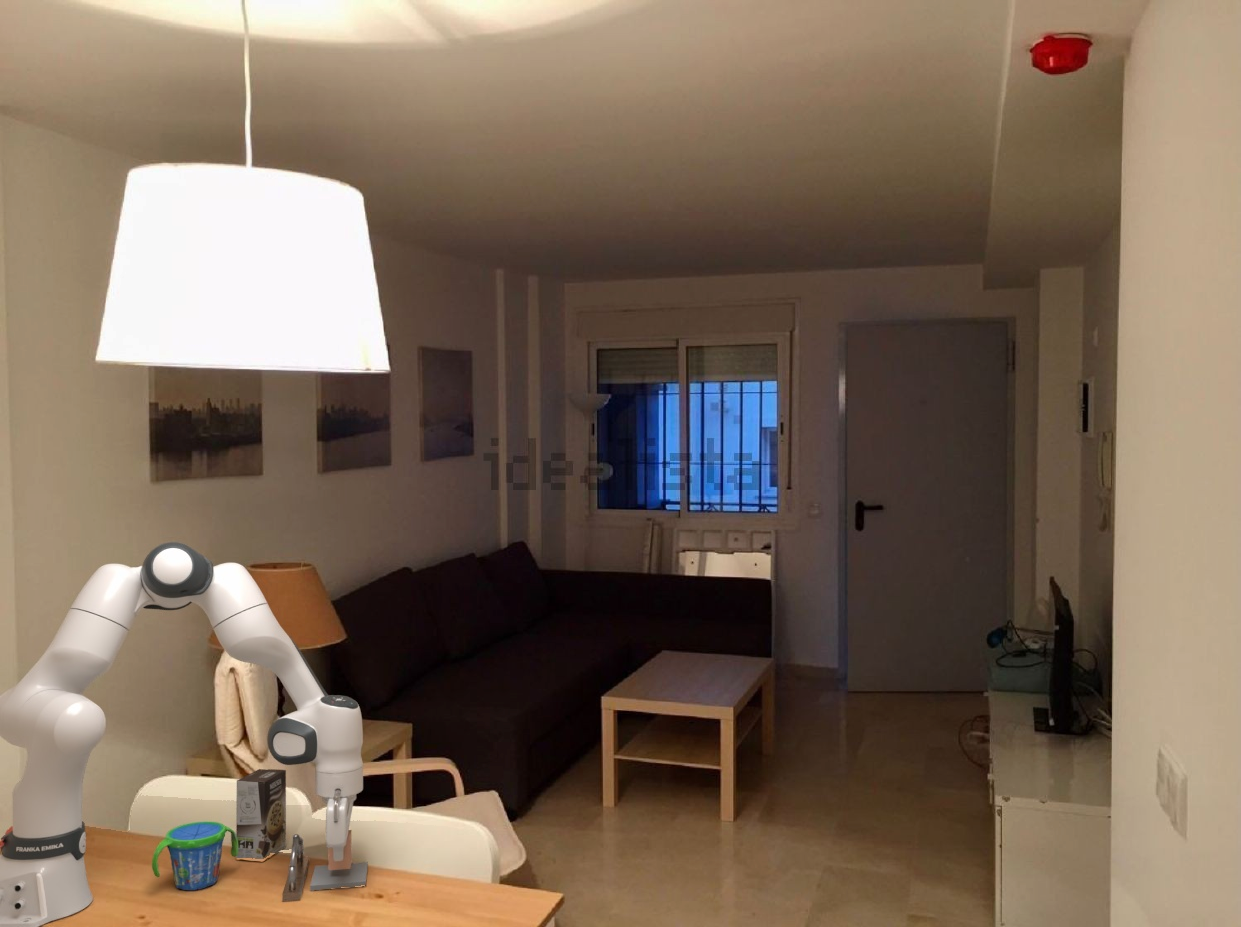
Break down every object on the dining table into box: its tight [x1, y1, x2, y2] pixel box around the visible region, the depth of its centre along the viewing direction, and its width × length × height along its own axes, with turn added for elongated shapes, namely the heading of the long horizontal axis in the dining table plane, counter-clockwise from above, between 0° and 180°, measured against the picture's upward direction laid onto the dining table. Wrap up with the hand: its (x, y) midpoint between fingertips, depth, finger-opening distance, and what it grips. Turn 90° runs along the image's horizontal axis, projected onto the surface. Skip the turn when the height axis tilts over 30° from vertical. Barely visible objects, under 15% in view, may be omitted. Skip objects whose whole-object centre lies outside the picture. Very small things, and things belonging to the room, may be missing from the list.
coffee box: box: [235, 768, 287, 859], centre depth 218 cm, size 9×6×16 cm
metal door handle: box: [281, 833, 310, 903], centre depth 203 cm, size 3×18×9 cm, turn 11°
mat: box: [309, 861, 369, 892], centre depth 205 cm, size 10×10×1 cm
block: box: [327, 829, 352, 870], centre depth 205 cm, size 4×4×6 cm
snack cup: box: [151, 821, 239, 891], centre depth 202 cm, size 16×10×10 cm
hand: (339, 854), depth 205 cm, fingers closed on block, 4 cm apart
